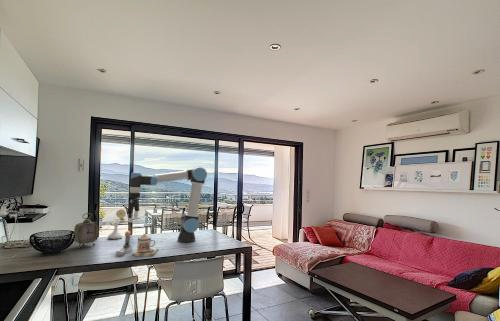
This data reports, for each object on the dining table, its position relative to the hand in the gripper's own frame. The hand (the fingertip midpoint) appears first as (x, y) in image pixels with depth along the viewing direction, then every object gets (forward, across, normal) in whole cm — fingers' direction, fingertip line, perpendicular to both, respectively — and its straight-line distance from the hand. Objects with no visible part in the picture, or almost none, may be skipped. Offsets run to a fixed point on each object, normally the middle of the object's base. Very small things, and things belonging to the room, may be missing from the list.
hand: (132, 220), depth 200 cm
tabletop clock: (+21, -2, -34) cm, 40 cm away
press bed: (+20, +13, +15) cm, 28 cm away
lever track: (+20, +13, 0) cm, 24 cm away
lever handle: (+17, +8, 0) cm, 19 cm away
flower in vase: (+21, -28, -22) cm, 41 cm away
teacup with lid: (+19, +13, +15) cm, 27 cm away
